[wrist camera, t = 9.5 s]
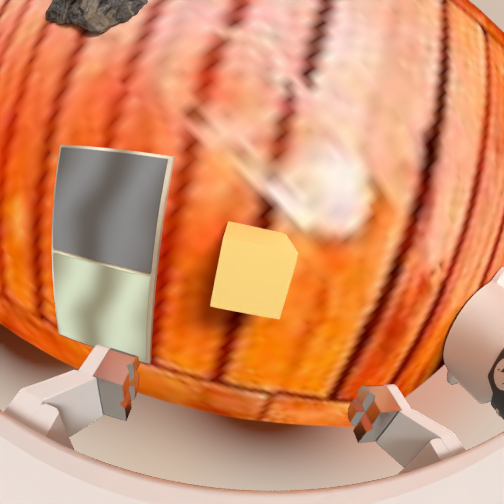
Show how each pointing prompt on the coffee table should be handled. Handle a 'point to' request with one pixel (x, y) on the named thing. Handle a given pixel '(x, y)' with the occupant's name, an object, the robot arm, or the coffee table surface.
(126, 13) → the dark grey rock
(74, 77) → the coffee table surface
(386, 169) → the coffee table surface
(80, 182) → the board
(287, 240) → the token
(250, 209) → the coffee table surface
